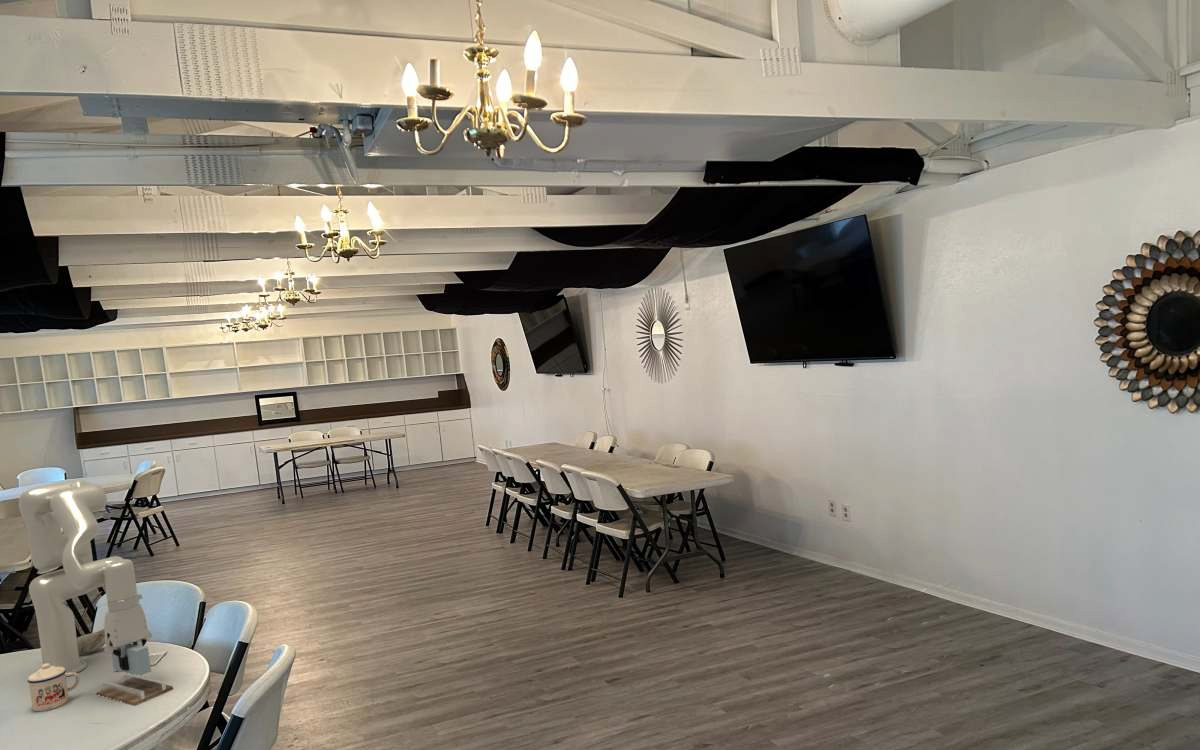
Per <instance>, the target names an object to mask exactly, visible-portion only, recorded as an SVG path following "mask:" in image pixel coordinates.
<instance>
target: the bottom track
mask: <svg viewBox="0 0 1200 750" xmlns="http://www.w3.org/2000/svg"><path fill="white" fill-rule="evenodd" d="M173 689H174V686H173V685H168V684H166V682H165V681H161V680H158V679H157V680H156V679H153V678H149V677H144V676H142V675H141V676H140V675H136V674H131V673H127V672H125V673H123V681H121V682H118V683H114V682H110V681H103V682H102V689H100V690H98V691H96V692H95V695H96V694H97V695H96V696H98V695H100V696H99V697H101V696H104V697H103V698H105V697H108V698H107V699H109V698H111V699H110V700H112V699H115V700H114V701H116V700H118V701H117V702H120V701H122V702H121V703H123V702H125V703H124V704H127V703H129V704H128V705H130V704H132V705H131V706H134V705H135V706H137V705H139V704H141V702H142V703H144V702H146V701H148V699H149V700H150V699H153V698H156V697H159V696H160V695H163V694H165V693H167V692H170V691H171V690H173ZM143 701H144V702H143ZM138 703H139V704H138ZM136 704H137V705H136Z"/></svg>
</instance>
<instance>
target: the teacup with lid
mask: <svg viewBox="0 0 1200 750" xmlns="http://www.w3.org/2000/svg"><path fill="white" fill-rule="evenodd" d="M70 676H75V682H74V684H73V685H72V686H70V687H69V688H68V682H67V678H68V677H70ZM27 683H28V685H29V686H28V687H29V693H30V695H29V696H30V701H31V709H32V710H33V711H34V712H44V711H49V710H53V709H55V708H59V707H61V706H64V705H65V704H66V703H67V702H68V701H69V699H70V696H69V692H71V691H72V690H74V689H76V688H77V687H78V685H79V684H80V675H79V673H78V672H77V673H74V672H71V673H67V674H66V670H65V668H64V667H55V666H50V664H49V663H47V664H43V663H42V665H41V667H40V668H39V669H38V670H37V671H36V672H33V673H32V674H30V675H29V676H28V678H27Z"/></svg>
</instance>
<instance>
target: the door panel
mask: <svg viewBox="0 0 1200 750" xmlns="http://www.w3.org/2000/svg"><path fill="white" fill-rule="evenodd" d="M112 649H116V648H114V647H113V646H112ZM149 653H150V652H149V646H145V645H144V646H140V645H134V644H133V643H131V644H128V645H125V655H126V656H127V657H128V664H129V670H127V671H125V670H122V669H121V668H120V666H119V658H118V657H117V656H116V655H114V654H111V657H112V660H111V661H112V665H113V666H112V667H113V671H114V670H118V671H117V672H124V673H128V674H133V675H137V676H141V677H142V676H143V675H145V674H149V673H150V672H152V669H151V666H150V664H151V661H150V660H151V659H150V656H149Z"/></svg>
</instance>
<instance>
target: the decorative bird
mask: <svg viewBox="0 0 1200 750" xmlns="http://www.w3.org/2000/svg"><path fill="white" fill-rule="evenodd" d="M77 644H78V651H79V656H83V655H86V654H89V653H90V654H91V653H93V652H95V651H97V650H100V649H101V648H103V647H105V645H106V643H105V629H104V628H102V629H100V630H98V631H95V632H91V633H87V634H84V635H81V636H78V637H77Z"/></svg>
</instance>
